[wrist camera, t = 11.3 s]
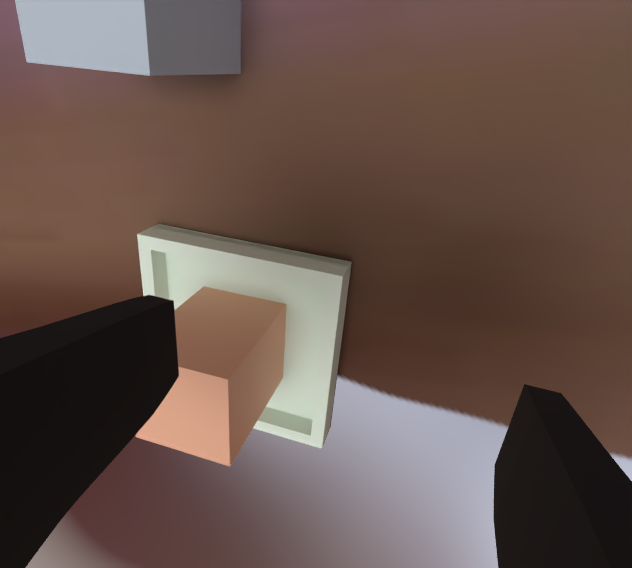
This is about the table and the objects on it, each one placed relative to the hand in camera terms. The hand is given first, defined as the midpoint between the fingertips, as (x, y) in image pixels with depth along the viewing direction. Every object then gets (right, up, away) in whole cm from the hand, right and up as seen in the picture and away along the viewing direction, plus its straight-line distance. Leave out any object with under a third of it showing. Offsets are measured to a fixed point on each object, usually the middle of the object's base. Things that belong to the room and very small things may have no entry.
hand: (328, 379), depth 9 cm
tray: (-3, 0, +12) cm, 13 cm away
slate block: (-5, +12, +7) cm, 15 cm away
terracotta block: (-4, 0, +12) cm, 12 cm away
